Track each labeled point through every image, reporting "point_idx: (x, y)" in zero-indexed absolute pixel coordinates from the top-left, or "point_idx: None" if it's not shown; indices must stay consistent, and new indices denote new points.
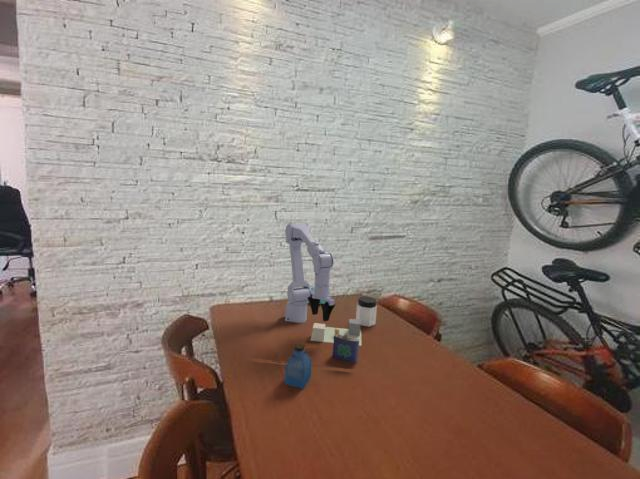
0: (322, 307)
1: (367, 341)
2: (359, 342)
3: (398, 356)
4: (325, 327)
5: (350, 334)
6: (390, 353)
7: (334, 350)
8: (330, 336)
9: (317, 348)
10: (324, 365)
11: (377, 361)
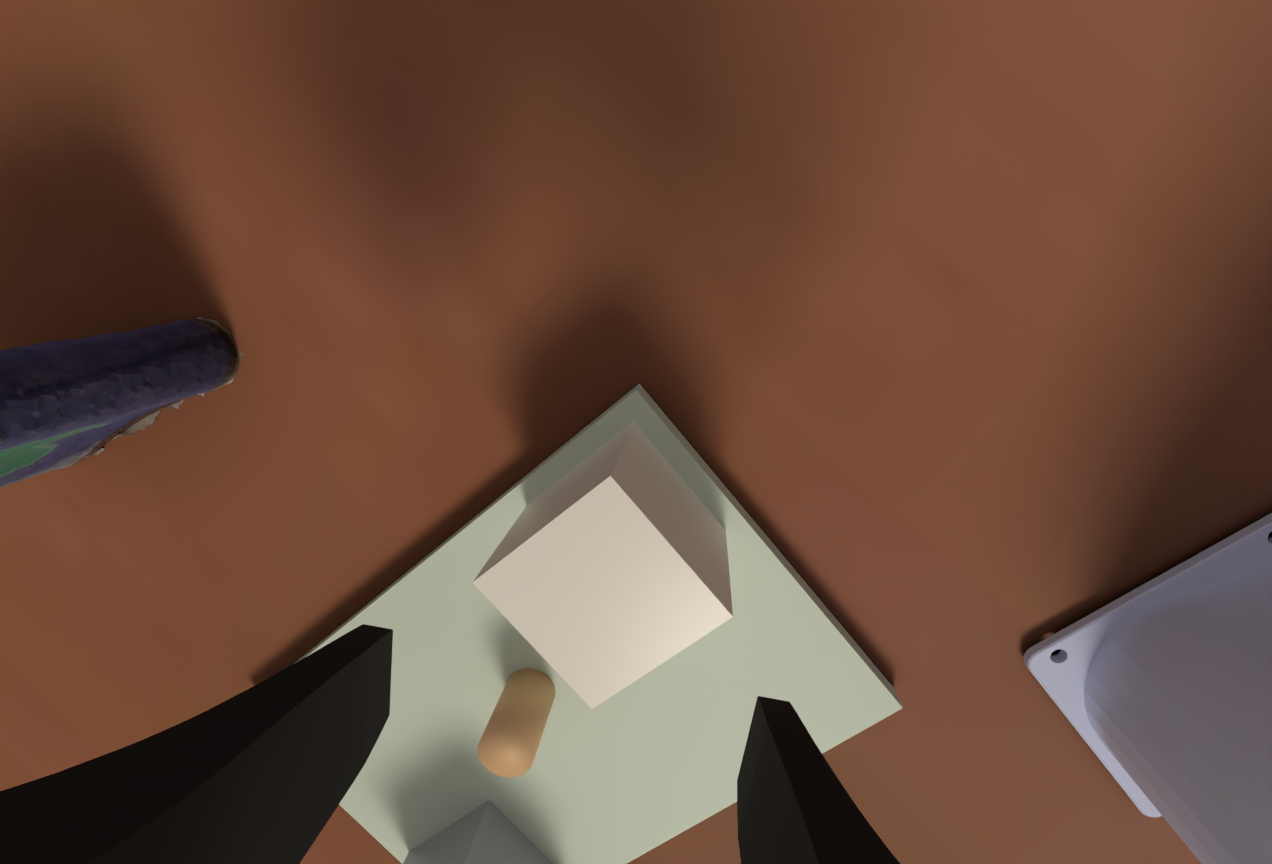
0: (20, 847)
1: (330, 825)
2: None
3: None
4: None
5: (472, 811)
6: None
7: (101, 336)
8: None
9: (483, 359)
10: (153, 156)
11: (16, 613)
